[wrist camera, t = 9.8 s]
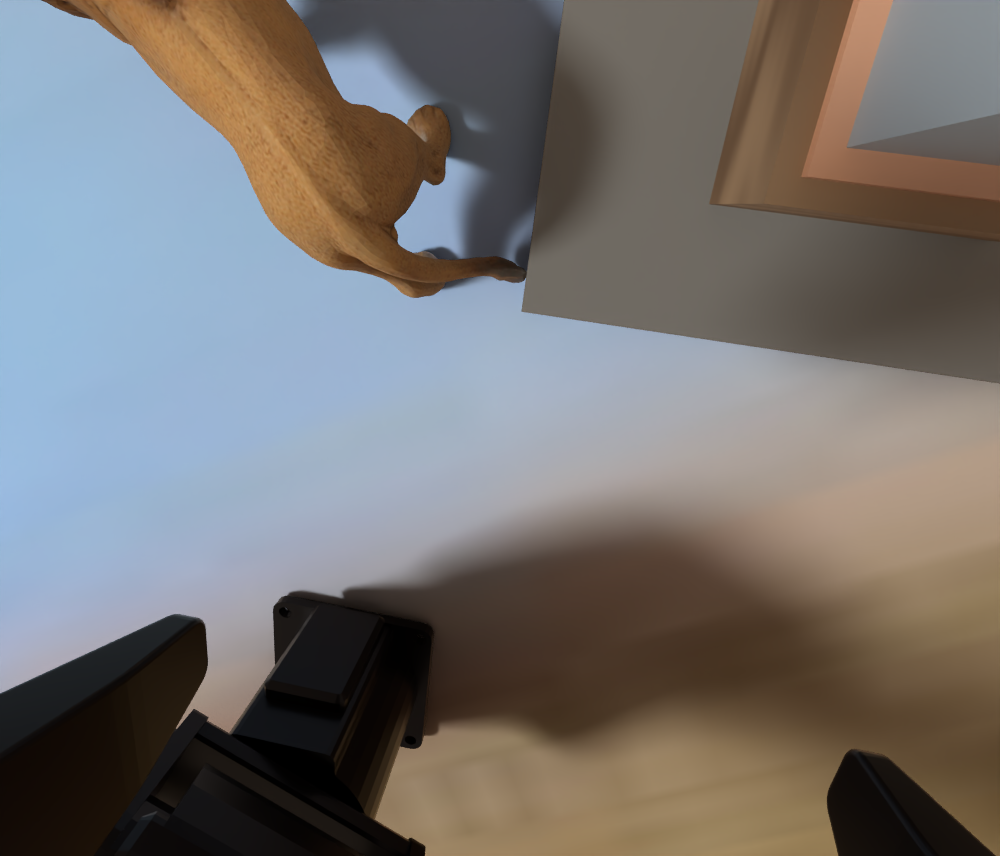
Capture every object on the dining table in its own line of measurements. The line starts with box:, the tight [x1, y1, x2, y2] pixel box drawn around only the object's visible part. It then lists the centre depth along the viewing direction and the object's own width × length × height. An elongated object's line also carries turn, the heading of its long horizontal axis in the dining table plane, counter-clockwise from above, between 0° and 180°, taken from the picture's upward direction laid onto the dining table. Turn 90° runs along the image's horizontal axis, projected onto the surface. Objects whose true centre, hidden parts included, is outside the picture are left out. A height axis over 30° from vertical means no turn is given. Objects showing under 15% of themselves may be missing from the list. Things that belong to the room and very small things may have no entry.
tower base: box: [522, 0, 1000, 383], centre depth 11 cm, size 14×16×6 cm
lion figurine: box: [42, 0, 527, 298], centre depth 12 cm, size 15×5×9 cm, turn 52°
